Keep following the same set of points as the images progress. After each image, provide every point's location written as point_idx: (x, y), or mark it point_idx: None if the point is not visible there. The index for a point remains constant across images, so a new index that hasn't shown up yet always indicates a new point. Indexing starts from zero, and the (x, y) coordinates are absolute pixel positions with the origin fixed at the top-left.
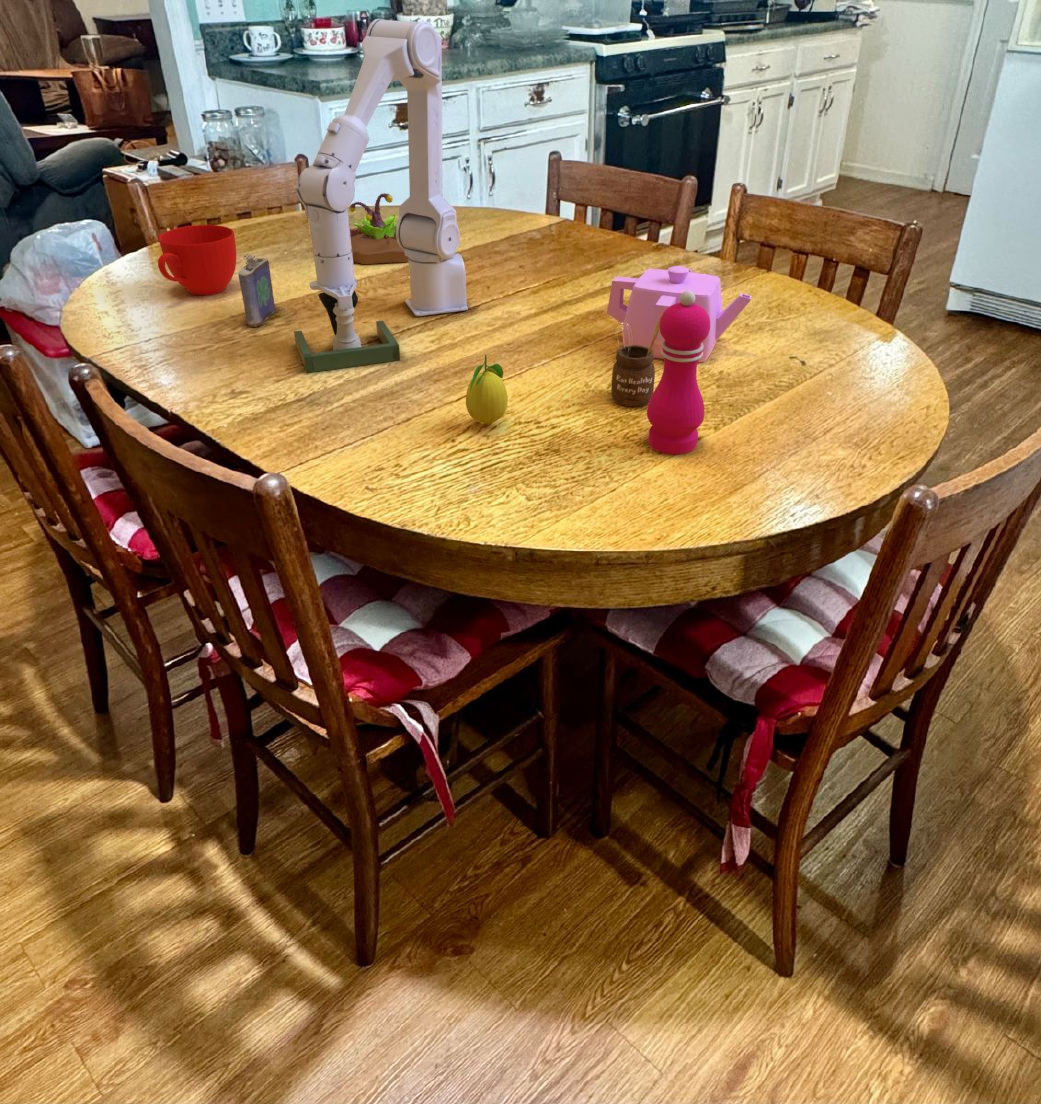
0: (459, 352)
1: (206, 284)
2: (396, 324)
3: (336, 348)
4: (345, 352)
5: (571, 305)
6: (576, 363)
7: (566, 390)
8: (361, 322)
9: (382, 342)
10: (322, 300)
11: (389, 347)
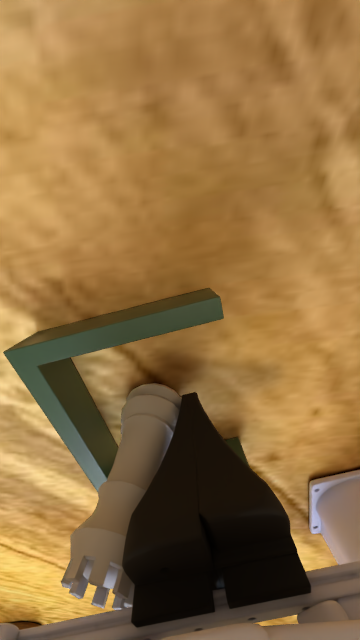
0: None
1: None
2: (287, 456)
3: (141, 393)
4: (60, 435)
5: None
6: (111, 601)
7: (34, 599)
8: (319, 406)
9: None
10: (131, 552)
11: None
